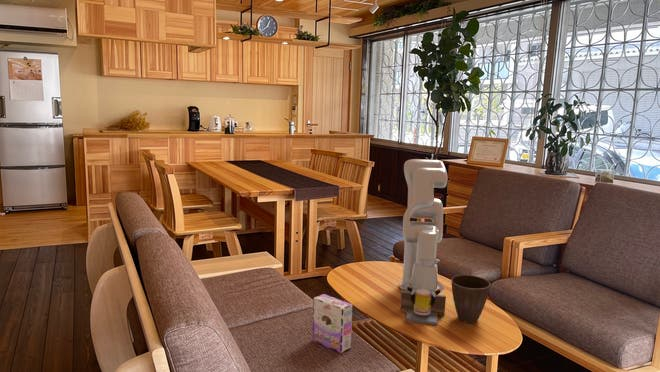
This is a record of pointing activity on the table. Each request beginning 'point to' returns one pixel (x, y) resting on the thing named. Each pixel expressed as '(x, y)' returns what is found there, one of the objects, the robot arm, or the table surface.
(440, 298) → the walnut screen
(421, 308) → the supplement bottle
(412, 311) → the slate mat
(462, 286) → the plant pot
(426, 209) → the robot arm
